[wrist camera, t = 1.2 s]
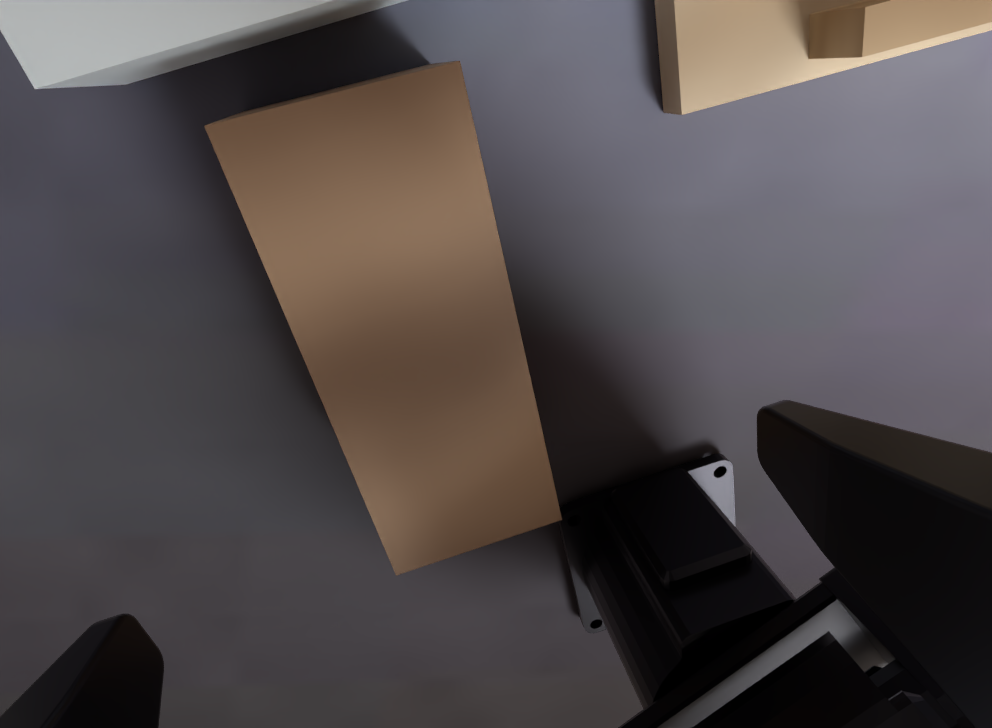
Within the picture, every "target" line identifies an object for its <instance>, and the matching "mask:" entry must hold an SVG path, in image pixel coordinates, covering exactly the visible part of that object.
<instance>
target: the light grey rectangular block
mask: <svg viewBox="0 0 992 728" xmlns="http://www.w3.org/2000/svg"><path fill="white" fill-rule="evenodd" d="M404 1H407V0H0V31H1V32H2V34H3V36H4V37H5V39H6V41H7V42H8V44H9V46H10V48H11V49H12V51H13V53H14V54H15V56H16V58H17V59H18V61H19V63H20V65H21V66H22V68H23V70H24V71H25V73H26V75H27V76H28V78H29V80H30V82H31V83H32V85H33V87H34V88H35V89H48V88H68V87H89V86H109V85H127V84H130V83H133V82H137V81H140V80H143V79H147V78H150V77H154V76H157V75H160V74H164V73H167V72H170V71H174V70H177V69H180V68H184V67H187V66H190V65H194V64H197V63H200V62H204V61H207V60H210V59H214V58H217V57H220V56H224V55H227V54H230V53H234V52H237V51H240V50H244V49H247V48H250V47H254V46H257V45H260V44H264V43H267V42H270V41H274V40H277V39H280V38H284V37H287V36H290V35H294V34H297V33H300V32H304V31H307V30H310V29H314V28H317V27H320V26H324V25H327V24H330V23H334V22H337V21H340V20H344V19H347V18H350V17H354V16H357V15H360V14H364V13H367V12H370V11H374V10H377V9H380V8H384V7H387V6H390V5H394V4H397V3H400V2H404Z"/></svg>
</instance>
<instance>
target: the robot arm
mask: <svg viewBox="0 0 992 728" xmlns="http://www.w3.org/2000/svg"><path fill="white" fill-rule="evenodd" d="M757 452H758V458H759V461H760V464H761V466H762V468H763V469H764V471H765V472H766V474H767V475H768V476H769V478H770V479H771V481H772V482H773V484H774V485H775V486H776V488H777V489H778V491H779V492H780V493H781V495H782V496H783V498H784V499H785V501H786V502H787V503H788V505H789V506H790V508H791V509H792V510H793V512H794V513H795V515H796V516H797V518H798V519H799V520H800V522H801V523H802V525H803V526H804V527H805V529H806V530H807V532H808V533H809V535H810V536H811V537H812V539H813V540H814V542H815V543H816V544H817V546H818V547H819V548H820V550H821V551H822V552H823V554H824V555H825V556H826V557H827V558H828V560H829V561H830V562H831V563H832V564H833V566H834V567H835V568H833V569H832V570H830V571H829V572H827V573H826V574H825V575H823V576H822V577H821V578H819V580H820V581H821V582H820V583H819V584H817V585H816V586H814V587H813V588H812V589H810V590H809V591H807V592H806V593H805V594H803V595H802V596H800V597H799V598H798V599H796V598H795V597H794V596H793V594H792V593H791V592H790V591H789V590H788V588H787V587H786V586H785V585H784V584H783V583H782V581H781V580H780V579H779V578H778V577H777V575H776V574H775V573H774V572H773V571H772V570H771V568H770V567H769V566H768V565H767V564H766V563H765V561H764V560H763V559H762V558H761V557H760V555H759V554H758V553H757V552H756V551H755V550H754V548H753V547H752V546H751V545H750V544H749V542H748V541H747V540H746V539H745V538H744V537H743V535H742V534H741V533H740V532H739V531H738V529H737V528H736V527H735V504H734V478H733V466H732V463H731V462H730V461H729V460H728V459H727V458H726V457H725V456H724V455H722V454H714V455H711V456H708V457H705V458H702V459H699V460H696V461H693V462H690V463H687V464H684V465H681V466H678V467H675V468H671V469H668V470H665V471H662V472H659V473H656V474H653V475H650V476H647V477H644V478H641V479H638V480H635V481H632V482H629V483H626V484H623V485H620V486H617V487H614V488H611V489H608V490H605V491H602V492H599V493H596V494H593V495H590V496H587V497H584V498H581V499H578V500H575V501H572V502H569V503H567V504H565V505H563V506H562V507H561V508H560V512H561V517H562V520H560V521H558V523H559V527H560V532H561V536H562V541H563V545H564V549H565V554H566V558H567V562H568V567H569V571H570V575H571V580H572V584H573V588H574V593H575V597H576V602H577V606H578V610H579V615H580V619H581V622H582V624H583V627H584V629H585V630H586V631H587V632H588V633H597V632H600V631H603V630H606V629H607V631H608V633H609V635H610V637H611V639H612V642H613V644H614V646H615V648H616V650H617V652H618V655H619V657H620V659H621V661H622V663H623V665H624V668H625V670H626V672H627V674H628V676H629V678H630V681H631V683H632V685H633V687H634V689H635V691H636V694H637V696H638V698H639V700H640V702H641V705H642V707H643V710H642V711H641V712H639V713H638V714H636V715H635V716H634V717H632V718H631V719H630V720H628V721H627V722H625V723H624V724H623V725H621V726H620V727H618V728H992V453H991V452H987V451H983V450H980V449H976V448H972V447H968V446H964V445H960V444H956V443H953V442H949V441H945V440H941V439H937V438H933V437H929V436H925V435H922V434H918V433H914V432H910V431H906V430H902V429H898V428H895V427H891V426H887V425H883V424H879V423H875V422H871V421H868V420H864V419H860V418H856V417H852V416H848V415H844V414H840V413H837V412H833V411H829V410H825V409H821V408H817V407H813V406H810V405H806V404H802V403H798V402H794V401H790V400H783V401H779V402H776V403H773V404H770V405H767V406H764V407H762V408H761V409H760V410H759V411H758V414H757ZM719 466H720V467H719ZM718 467H719V468H718ZM716 468H718V469H717V470H715V469H716ZM573 515H576V516H575V517H574V518H572V519H569V518H570V517H571V516H573ZM163 675H164V661H163V657H162V654H161V652H160V650H159V648H158V647H157V646H156V644H155V643H154V642H153V640H152V639H151V638H150V636H149V635H148V634H147V633H146V631H145V630H144V629H143V627H142V626H141V625H140V623H139V622H138V621H137V619H136V618H135V617H134V616H132V615H130V614H120V615H117V616H114V617H110V618H107V619H104V620H101V621H99V622H96V623H94V624H93V625H91V626H90V627H89V628H88V629H87V630H86V631H85V632H84V633H83V634H82V635H81V636H80V637H79V638H78V639H77V640H76V641H75V642H74V643H73V644H72V645H71V646H70V647H69V648H68V649H67V650H66V651H65V652H64V653H63V654H62V655H61V656H60V657H59V658H58V659H57V660H56V661H55V662H54V663H53V664H52V665H51V666H50V667H49V668H48V669H47V670H46V671H45V672H44V673H43V674H42V675H41V676H40V677H39V678H38V679H37V680H36V681H35V682H34V683H33V684H32V685H31V686H30V687H29V688H28V689H27V690H26V691H25V692H24V693H23V694H22V695H21V696H20V697H19V698H18V699H17V700H16V701H15V702H14V703H13V704H12V705H11V706H10V707H9V708H8V709H7V710H6V711H5V712H4V713H3V714H2V715H1V716H0V728H158V726H159V716H160V706H161V695H162V685H163Z"/></svg>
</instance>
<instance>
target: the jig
mask: <svg viewBox="0 0 992 728" xmlns="http://www.w3.org/2000/svg"><path fill="white" fill-rule="evenodd" d="M655 13H656V25H657V38H658V50H659V62H660V75H661V87H662V100H663V112H664V113H671V114H679V115H683V114H687V113H691V112H694V111H698V110H702V109H705V108H709V107H712V106H716V105H720V104H723V103H727V102H731V101H734V100H738V99H742V98H745V97H749V96H753V95H756V94H760V93H764V92H767V91H771V90H775V89H778V88H782V87H785V86H789V85H793V84H796V83H800V82H804V81H807V80H811V79H815V78H818V77H822V76H826V75H829V74H833V73H837V72H840V71H844V70H848V69H851V68H855V67H859V66H862V65H866V64H869V63H873V62H877V61H880V60H884V59H888V58H891V57H895V56H899V55H902V54H906V53H910V52H913V51H917V50H921V49H924V48H928V47H932V46H935V45H939V44H942V43H946V42H950V41H953V40H957V39H961V38H964V37H968V36H972V35H975V34H979V33H983V32H986V31H990V30H992V0H655Z"/></svg>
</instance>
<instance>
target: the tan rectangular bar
mask: <svg viewBox="0 0 992 728" xmlns="http://www.w3.org/2000/svg"><path fill="white" fill-rule="evenodd" d="M204 127H205V129H206V132H207V134H208V136H209V139H210V141H211V143H212V146H213V148H214V150H215V153H216V155H217V157H218V160H219V162H220V164H221V167H222V169H223V171H224V174H225V176H226V178H227V181H228V183H229V185H230V188H231V190H232V192H233V195H234V197H235V199H236V202H237V204H238V207H239V209H240V211H241V214H242V216H243V218H244V221H245V223H246V225H247V228H248V230H249V232H250V235H251V237H252V239H253V242H254V244H255V246H256V249H257V251H258V253H259V256H260V258H261V260H262V263H263V265H264V267H265V270H266V272H267V274H268V277H269V279H270V281H271V284H272V286H273V288H274V291H275V293H276V295H277V298H278V300H279V302H280V305H281V307H282V309H283V312H284V314H285V316H286V319H287V321H288V324H289V326H290V328H291V331H292V333H293V335H294V338H295V340H296V342H297V345H298V347H299V349H300V352H301V354H302V356H303V359H304V361H305V363H306V366H307V368H308V370H309V373H310V375H311V377H312V380H313V382H314V384H315V387H316V389H317V391H318V394H319V396H320V398H321V401H322V403H323V405H324V408H325V410H326V412H327V415H328V417H329V419H330V422H331V424H332V426H333V429H334V431H335V433H336V436H337V438H338V441H339V443H340V445H341V448H342V450H343V452H344V455H345V457H346V459H347V462H348V464H349V466H350V469H351V471H352V473H353V476H354V478H355V480H356V483H357V485H358V487H359V490H360V492H361V494H362V497H363V499H364V501H365V504H366V506H367V508H368V511H369V513H370V515H371V518H372V520H373V522H374V525H375V527H376V529H377V532H378V534H379V536H380V539H381V541H382V543H383V546H384V548H385V550H386V553H387V555H388V558H389V560H390V562H391V565H392V567H393V569H394V572H395V574H396V575H399V574H402V573H405V572H408V571H411V570H414V569H417V568H420V567H423V566H426V565H429V564H432V563H435V562H438V561H441V560H444V559H447V558H450V557H453V556H456V555H459V554H462V553H465V552H468V551H471V550H474V549H477V548H480V547H483V546H485V545H488V544H491V543H494V542H497V541H500V540H503V539H506V538H509V537H512V536H515V535H518V534H521V533H524V532H527V531H530V530H533V529H536V528H539V527H542V526H545V525H548V524H551V523H554V522H557V521H560V520H562V517H561V512H560V508H559V504H558V499H557V495H556V490H555V486H554V481H553V477H552V472H551V468H550V463H549V459H548V454H547V450H546V445H545V441H544V436H543V432H542V427H541V423H540V418H539V414H538V409H537V405H536V400H535V396H534V391H533V387H532V382H531V378H530V373H529V369H528V364H527V360H526V355H525V351H524V346H523V342H522V337H521V333H520V328H519V324H518V320H517V315H516V311H515V306H514V302H513V297H512V293H511V288H510V284H509V279H508V275H507V270H506V266H505V261H504V257H503V252H502V248H501V243H500V239H499V234H498V230H497V225H496V221H495V216H494V212H493V207H492V203H491V198H490V194H489V189H488V185H487V180H486V176H485V171H484V167H483V162H482V158H481V153H480V149H479V145H478V140H477V136H476V131H475V127H474V122H473V118H472V113H471V109H470V104H469V100H468V95H467V91H466V86H465V82H464V77H463V73H462V68H461V64H460V61H453V62H444V63H435V64H428V65H424V66H421V67H417V68H413V69H409V70H405V71H401V72H397V73H393V74H389V75H385V76H381V77H377V78H373V79H369V80H365V81H361V82H357V83H354V84H350V85H346V86H342V87H338V88H334V89H330V90H326V91H322V92H318V93H314V94H310V95H306V96H302V97H298V98H294V99H290V100H286V101H283V102H279V103H275V104H271V105H267V106H263V107H259V108H255V109H251V110H247V111H243V112H241V113H238V114H235V115H232V116H230V117H227V118H224V119H221V120H219V121H216V122H213V123H211V124H208V125H205V126H204Z"/></svg>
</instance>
